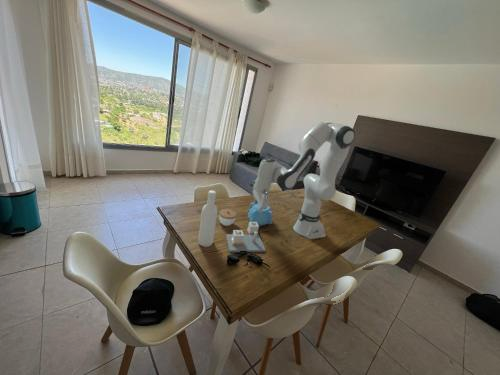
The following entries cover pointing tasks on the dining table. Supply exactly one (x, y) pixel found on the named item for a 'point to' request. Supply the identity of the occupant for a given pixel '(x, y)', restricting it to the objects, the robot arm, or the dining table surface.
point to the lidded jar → (227, 217)
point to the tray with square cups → (246, 243)
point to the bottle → (208, 221)
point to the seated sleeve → (237, 238)
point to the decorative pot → (260, 215)
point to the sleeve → (252, 228)
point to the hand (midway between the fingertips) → (257, 207)
